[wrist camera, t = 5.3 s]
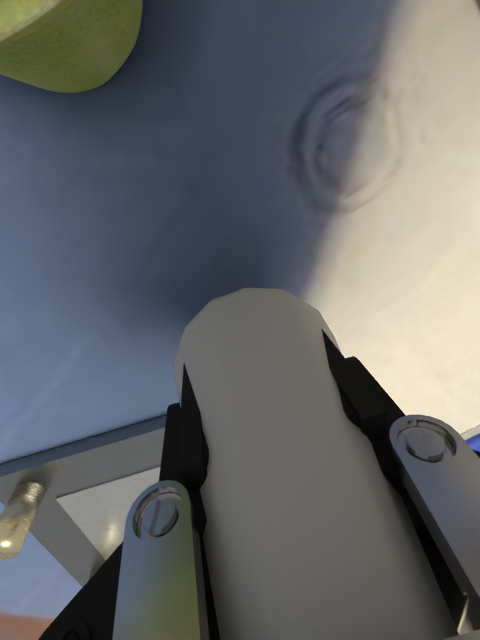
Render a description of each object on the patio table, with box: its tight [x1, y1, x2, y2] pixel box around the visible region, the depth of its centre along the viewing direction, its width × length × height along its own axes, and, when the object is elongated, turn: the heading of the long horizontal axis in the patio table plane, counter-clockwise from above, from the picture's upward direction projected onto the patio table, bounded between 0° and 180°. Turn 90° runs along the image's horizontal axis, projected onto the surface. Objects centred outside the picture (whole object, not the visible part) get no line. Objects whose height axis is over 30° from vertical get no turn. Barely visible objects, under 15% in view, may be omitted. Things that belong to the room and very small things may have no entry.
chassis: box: [0, 415, 167, 587], centre depth 18 cm, size 13×13×4 cm
